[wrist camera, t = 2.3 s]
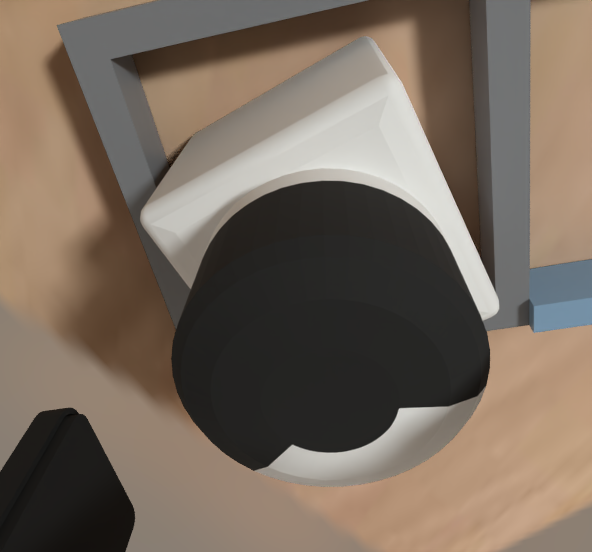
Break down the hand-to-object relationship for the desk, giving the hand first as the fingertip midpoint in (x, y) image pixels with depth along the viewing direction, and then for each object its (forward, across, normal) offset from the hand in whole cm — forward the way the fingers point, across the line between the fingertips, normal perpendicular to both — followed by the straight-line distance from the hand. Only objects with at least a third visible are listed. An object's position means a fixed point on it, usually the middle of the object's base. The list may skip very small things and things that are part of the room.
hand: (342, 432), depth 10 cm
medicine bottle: (+12, 0, -1) cm, 12 cm away
